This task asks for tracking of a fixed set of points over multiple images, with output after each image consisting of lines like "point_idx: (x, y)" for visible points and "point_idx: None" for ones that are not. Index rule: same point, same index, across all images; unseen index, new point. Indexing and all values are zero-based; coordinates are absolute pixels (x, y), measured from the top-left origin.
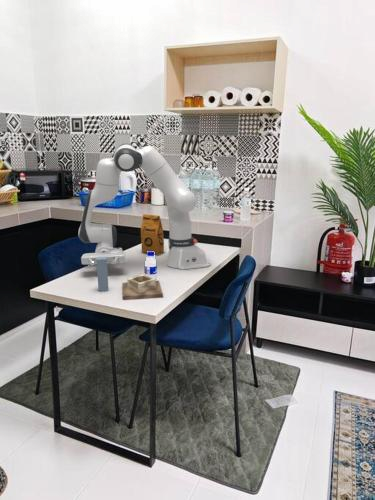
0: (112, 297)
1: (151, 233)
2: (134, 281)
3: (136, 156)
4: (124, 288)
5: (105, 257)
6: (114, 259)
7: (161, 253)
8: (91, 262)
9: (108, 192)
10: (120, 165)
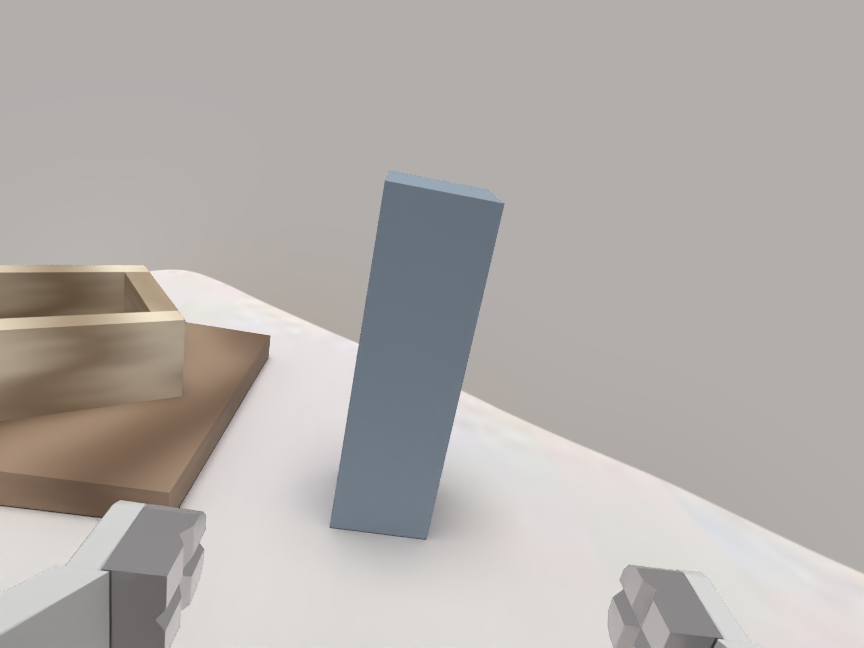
0: (324, 390)
1: None
2: (155, 287)
3: None
4: (212, 396)
5: (398, 179)
6: (92, 574)
7: None
8: (680, 573)
9: None
10: None
